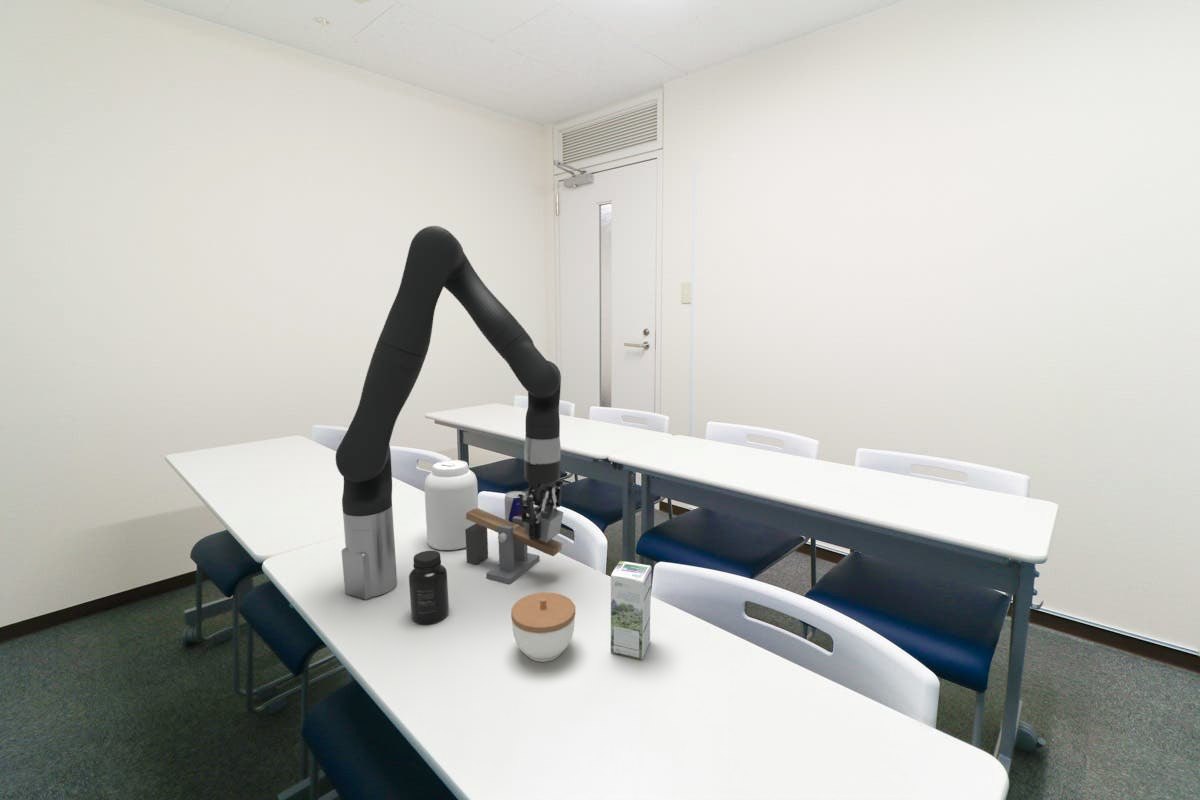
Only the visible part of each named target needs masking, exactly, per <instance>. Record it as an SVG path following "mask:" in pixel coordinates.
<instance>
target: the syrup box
mask: <svg viewBox="0 0 1200 800" xmlns="http://www.w3.org/2000/svg"><path fill="white" fill-rule="evenodd" d="M651 598H652V566H651V565H649V564H642V563H637V562H631V561H623V560H619V562H618V563H617V565H616V566H615V568H614V569H613V571H612V573H611V574H610V653H611V654H614V655H615V654H616V655H619V656H624V657H629V658H633V659H638V660H643V659H644V656H645V653H646V652H647V649H648V647H649V644H650V642H651Z"/></svg>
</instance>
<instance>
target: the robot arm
mask: <svg viewBox="0 0 1200 800" xmlns="http://www.w3.org/2000/svg"><path fill="white" fill-rule="evenodd" d="M401 277H402V278H401V280H400V284H399V288H398V291H397V293H396V296H395V299H394V301H393V303H392V305H391V308H390V310H389V312H388V315H387V317H386V320H385V322H384V325H383V328H382V330H381V332H380V335H379V337H378V340H377V343H376V344H375V345H376V346H375V348H374V351H373V353H372V357H371V360H370V363H369V365H368V369H367V371H366V374H365V375H366V376H365V380H364V383H363V386H362V391H361V395H360V399H359V402H358V403H359V404H358V405H357V406H358V407H357V408H356V411H355V414H354V416H353V418H352V421H351V422H350V424H349V426H348V428H347V431H346V432H345V433H344V434H345V435H343V436H344V437H343V439H342V440H341V442H340V444H339V445H338V447H337V449H336V453H335V466H336V467H337V470H338V472H339V474H340V475H341V476H342V477H343V491H342V498H341V505H342V506H341V508H342V516H343V529H344V542H345V548H342V549H341V560H342V561H341V562H342V569H343V570H342V572H343V573H342V574H343V583H344V594H347V595H349V596H353V597H356V598H359V599H363V600H366V601H367V600H369V599H371V598H374V597H378V596H382V595H385V594H386V593H389V592H391V591H392V590H394V589H395V588H396V586H397V584H398V578H397V576H398V575H397V573H398V572H397V560H396V559H397V557H396V545H395V531H394V530H395V529H394V528H395V527H394V513H393V497H392V496H393V474H392V471H393V470H392V453H391V446H390V442H391V438H392V434H393V432H394V428H395V425H396V423H397V421H398V417H399V415H400V414H401V411H402V410H403V408H404V405H405V404H406V402H407V401H408V398H409V397H410V394H411V392H412V391H413V389H414V388H415V387H414V386H415V384H416V382H417V380H418V378H419V376H420V374H421V370H422V369H423V365H424V362H425V360H426V357H427V355H428V351H429V347H430V344H431V339H432V338H431V337H432V333H433V325H434V317H435V311H436V306H437V304H438V302H439V298H440V295H441V294H442V291H443V289H444V288H445V289H446V290H447V291H448V292H449V293H451V295H452V296H454V298H455V299H456V300H457V301H458V302H459V303H460V305H462V307H463V308H464V310H465V311H466V312H467V313H468V315H469V316H470V318H471V319H472V321H473V323H474V324H475V325H476V327H477V328H478V330H479V331H480V332H481V334H482V335H483V337H484V338H485V339H486V341H488V342H489V344H490V345H491V346H492V347H493V349H495V351H496V352H497V354H499V355H500V356H501V358H502V359H503V360H504V361H505V362H506V363H507V364H508V366H509V368H510V370H511V371H512V372H513V375H515V377H516V378H517V380H518V381H519V383H520V384H521V385H522V387H523V388H524V389H525V390H526V391H527V401H528V402H527V410H526V414H525V439H524V445H523V446H524V449H523V454H524V456H523V461H524V464H523V466H524V468H523V471H524V472H523V477H524V480H525V481H527V483H528V485H529V486H528V490H527V494H525V496H523V495H521V496H520V498H519V500H520V508H521V517H522V522H526V523H529V538H530V539H532V540H536V541H537V540H538V539H540V523H539V522H540V517H541V513H543V512H544V508H545V505H547V506H549V507H551V508H554V509H557V510H558V508H560V507H561V505H562V495H563V486H564V481H563V480H562V479H560V478H561V461H562V460H561V450H562V449H561V439H560V438H561V436H560V434H561V433H560V431H561V429H560V427H561V426H560V425H561V422H560V421H561V420H560V400H561V397H560V396H561V386H562V385H561V384H562V383H561V382H562V376H561V371H560V369H559V367H558V366H557V365H556V364H555V363H554V362H552V361H549V360H548V359H546V358H545V357H544V355H543V354H542V353H541V352H540V351H539V349H537V347H536V346H535V344H534V340H533V339H532V338H531V336H530V334H529V333H528V332H527V331H526V330H525V329H524V327H523V326H522V325H521V324H520V322H519V321H518V320H517V319H516V318H515V316H514V315H513V314H512V313H511V312H510V311H509V310H508V308H507V307H506V306H504V304H503V303H502V302H501V301H500V300H499V299H498V298H497V297H496V296H495V295H494V294H493V292H492V291H491V290H490V289H489V288H488V287H487V285H486V284H485V283H484V282H483V280H482V279H481V278H480V276H479V274H478V273H477V272H476V270H475V269H474V267H473V265H472V264H471V262H470V260H469V259H468V257H467V256H466V254H465V251H464V248H463V246H462V245H461V243H460V242H459V240H458V238H456V237H455V235H453V234H452V233H451V232H450V231H449V230H447V229H446V228H444V227H442V226H439V225H430V226H426V227H423V228H422V229H420V230H419V231H418V232H416V234H415V235H414V236H413V238H412V240H411V243H410V245H409V249H408V252H407V256H406V261H405V265H404V270H403V273H402V276H401ZM534 506H535V507H537V506H540V507H539V508H535V507H534ZM534 511H536V517H535V514H534ZM526 513H527V514H528V516H527V514H526Z"/></svg>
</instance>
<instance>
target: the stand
mask: <svg viewBox="0 0 1200 800" xmlns="http://www.w3.org/2000/svg"><path fill="white" fill-rule="evenodd" d="M512 520H513V523H514V524H518V525H519V526H522V527H524V528H525V526H526V522H522V517H518V516H515V517H513V518H512ZM465 533H466V547H465V551H466V552H465V555H466V556H465V557H466V563H469V564H471V565H475V566H478V565H480V564H481V563H483V562H484V561H486V560H487V559H488V558H489V546H488V545H489V543H488V542H489V540H488V528H486V527H484V526H481V525H479V524H477V523H476V524H474V525H472V526H470V527H469V528H467V529H465ZM497 534H498V535H497V539H498V561H499V562H498V563H497V565H496V566H494V567H492V568H491V569H489V571H487V572H486V575H485V576H486V577H485V578H486V579H488V580H492V581H495V582H499V583H503V584H506V585H511V584H512V583H514V581H516V580H517V579H518V578H520V576H522V575H523V574H524V573H525V572H527V571H528V570H530V569H532V567H533V566H534V565H536V564H537V563H539V562H540V560H541V559H540V558H541V557H540V555H539V554H533V553H529V552H528V545H525V544H523V543H521V542H518V541H516V540H514V539H513V527H511V526H506V525H500V526H498V532H497Z"/></svg>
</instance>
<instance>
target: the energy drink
mask: <svg viewBox="0 0 1200 800" xmlns="http://www.w3.org/2000/svg"><path fill="white" fill-rule="evenodd" d="M521 495H523V496H525V495H526V492H524V491H521V490H514V491H513V490H512V491H508V492H506V493H505V495H504V519H505V520H507V521H510V522H512V523H513V520H512V518H513V517H515V516H518V517H521V508H520V500H519V498H520V496H521ZM526 514H527V513H526Z"/></svg>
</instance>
